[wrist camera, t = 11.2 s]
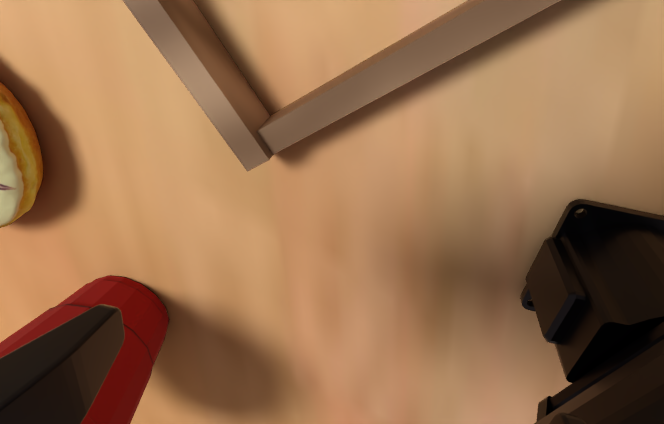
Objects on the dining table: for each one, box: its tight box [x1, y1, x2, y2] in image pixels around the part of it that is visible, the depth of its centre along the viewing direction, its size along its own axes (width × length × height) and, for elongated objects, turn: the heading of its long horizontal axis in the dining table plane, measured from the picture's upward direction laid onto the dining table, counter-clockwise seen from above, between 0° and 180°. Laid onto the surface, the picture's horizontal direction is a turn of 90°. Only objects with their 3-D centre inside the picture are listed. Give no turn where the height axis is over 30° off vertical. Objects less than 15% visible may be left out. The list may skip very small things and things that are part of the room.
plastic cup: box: [0, 276, 169, 424], centre depth 24 cm, size 11×11×12 cm
